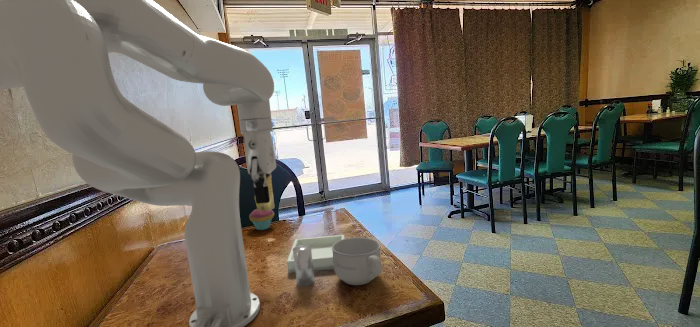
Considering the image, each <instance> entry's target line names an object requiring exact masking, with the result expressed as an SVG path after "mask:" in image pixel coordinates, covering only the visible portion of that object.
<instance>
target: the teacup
mask: <svg viewBox="0 0 700 327" xmlns="http://www.w3.org/2000/svg"><path fill="white" fill-rule="evenodd" d="M381 247H382V246H381V243H380V242H379V241H378V240H376V239H373V238H369V237H359V236H357V237H356V236H355V237H348V238H346V237H345V238H344V239H343V240H339V241H337V242H335V243H334V244H333V245H332V250H333V264H334V269H333V270H334V273H335V275H336V276H337V277H338V278H339V280H341V281H343V282H344V283H345V284H347V285H351V286H362V285H367V284H369V283H370V282H371V281H373V280H374V279H375V278H377V277H378V276H380V275H381V274H382V271H383V264H382V261H381Z"/></svg>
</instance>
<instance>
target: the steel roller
mask: <svg viewBox="0 0 700 327" xmlns="http://www.w3.org/2000/svg"><path fill="white" fill-rule="evenodd" d="M293 255H294V264H295V279H296V280H295V282H296V286H298V287H300V288H304V287H310V286H312V285H313V284H314V283H315V274H314V273H315V271H313V261H312V252H311V246H310V245H299V246H296V247H294V248H293Z"/></svg>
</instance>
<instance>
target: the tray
mask: <svg viewBox="0 0 700 327" xmlns="http://www.w3.org/2000/svg"><path fill="white" fill-rule="evenodd" d="M343 239H345V234H338V235H337V234H336V235H327V236H326V235H325V236H324V235H323V236H315V237H313V236H312V237H306V238H305V237H304V238H295V239H294V240H293V244H292V247H291V250H290V253H289V255H288V258H287V260H286V265H287V273H288V274H292V273H295V264H294V255H293V248H294V247H296V246H299V245H310V246H311V252H312V261H313V271H314V272H315V271H326V270H334V264H333V250H332V245H333V244H334V243H335V242H337V241H339V240H343ZM295 274H296V273H295Z"/></svg>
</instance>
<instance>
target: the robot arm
mask: <svg viewBox="0 0 700 327" xmlns="http://www.w3.org/2000/svg"><path fill="white" fill-rule="evenodd" d="M110 53H116V54H121V55H123V56H126V57H128V58H130V59H132V60H134V61H135V62H139V63H140V64H142V65H144V66H147V67H149V68H150V69H153V70H155V71H156V72H158V73H161V74H162V75H165V76H167V77H168V78H170V79H173V80H175V81H180V82H183V83H185V82H186V83H193V84H194V83H195V84H202V89H203V94H204V95H205V97H206V98H207V99H208V100H209V101H210V102H211V103H213V104H215V105H218V106H221V107H223V106H224V107H226V106H237V114H238V120H239V122H238V123H239V128H240V135H244V137H243V138H244V139H243V140H244V152H245V153H244V154H245V161H246V162H245V163H246V168H247V169H246V170H247V173H248V175H250V176H251V179H252V181H253V183H252V184H253V190H254V195H255V196H254V197H255V198H256V202H255V204H256V203H257V204H258V203H268V202H269V201H270V198H269V190H268V186H266V176H271V181H272V190H273V198H274V197H275V194H274V184H273V179H272V178H273V177H272V172H273V171H275V169H277V161H276V154H275V148H274V142H273V137H272V132H273V131H274V129H273V121H272V113H271V105H270V104H271V103H270V99H271V97H273V94H274V91H275V82H274V79H273V75H272V74H271V72H270V70H268V68H267V66H266V65H265V64H264V63H263V62H262V61H261V60H259V58H257V57H256V56H255V55H253V54H252V53H251V52H249V51H247V50H245V49H243V48H240V47H238V46H235V45H232V44H229V43H226V42H222V41H220V40H216V39H214V38H210V37H207V36H204V35H199V34H197V33H196V32H194V31H193V30H192V29H191V28H190V27H189V26H187V25H185V24H184V23H183V22H182V21H179V19H178V18H176V17H175V16H173V14H171V13H169V12H168V11H167V10H166V9H164V8H163V7H162V6H160V5H159V4H158V3H156V2H155V1H154V0H0V90H9V89H15V88H16V89H17V88H23V89H24V92H25V96H26V98H27V101H28V103H29V105H30V108H31V110H32V112H33V114H34V117H35V118H36V121H37V123H38V125H39V127H40V129H41V130H42V131H43V133H44V135H45V136H46V137H47V138H48V139H49V140H50V141H51V142H52V143H53V144H55V145H56V146H58V147H59V148H60V149H62V150H64V151H65V152H67V153H70V154H71V155H72V158H71V159H72V165H73V167H74V169H75V171H76V173H77V175H78V176H79V177H80V179H81V180H83V181H84V182H85V183H87V185H89V186H91V187H92V188H94V189H97V190H99V191H102V192H104V193H109V194H111V195H115V196H118V197H122V198H125V199H129V200H133V201H136V202H139V203H144V204H147V205H151V206H156V207H157V206H159V207H163V206H164V207H168V206H170V207H174V206H175V207H176V206H178V207H179V206H188V207H189V206H191V212H190V213H189V216H188V219H187V220H186V223H185V227H184V240H185V246H186V247H185V248H186V252H187V259H188V264H189V265H188V266H189V271H190V276H191V283H192V288H193V289H192V290H193V295H194V296H193V297H194V301H195V307H196V309H195V310H194V311H193V312H192V314H191V315H190V317H189V319H188V320H189V321H188V325H189V327H245V326H247V325H248V324H249V323H250V322H252V321H254V319H255V318H256V316H257V315H258V314H259V312H260V309H261V301H260V298H259V296H258V295H256V294H254V293H253V292H251V290H250V282H249V275H248V268H247V261H246V252H245V246H244V245H245V244H244V237H243V232H242V223H241V217H240V215H241V214H240V213H241V211H240V187H241V171H240V168H239V165H238V163H237V162H236V160H235V159H234V158H233V157H231V156H230V155H229V154H226V153H224V152H220V151H213V150H211V151H195V148H194V147H193V145H192V144H191V142H190V141H189V140H188V139H187V138H186V137H185V136H184V135H182V134H181V133H180V132H178V131H176V129H173V127H170V126H168V125H167V124H165V123H164V122H163V121H160V120H159V119H157V118H156V117H154V116H152V115H150V114H149V113H147V112H146V111H144V110H142V109H141V108H139V107H138V106H137V105H135V104H134V103H133V102H131V101H129V100H128V99H127V98H126V97H124V95H123V94H122V93H121V91H120V89H119V86H118V85H117V83H116V81H115V78H114V75H113V71H112V67H111V61H110V57H109V54H110ZM261 176H262V178H263V180H262V178H261ZM255 198H254V199H255Z"/></svg>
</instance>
